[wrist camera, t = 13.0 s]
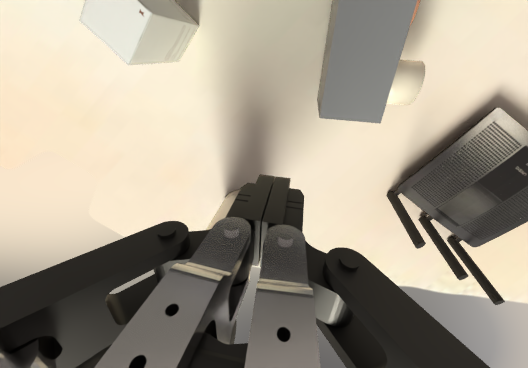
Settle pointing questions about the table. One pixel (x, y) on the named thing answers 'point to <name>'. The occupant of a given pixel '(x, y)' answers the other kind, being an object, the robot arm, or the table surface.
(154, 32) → the supplement box
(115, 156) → the table surface
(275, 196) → the robot arm
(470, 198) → the router
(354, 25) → the button panel
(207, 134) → the table surface
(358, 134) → the table surface
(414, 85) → the cream button
